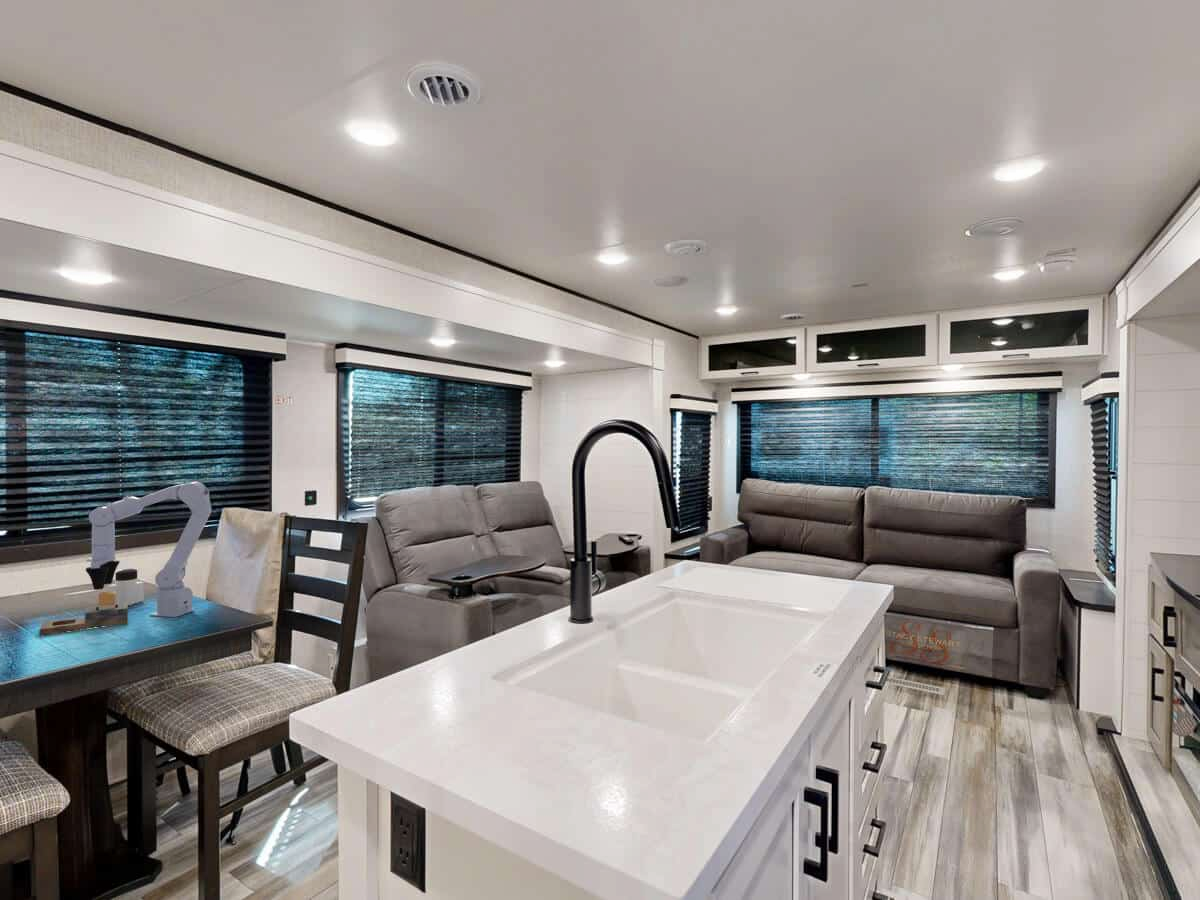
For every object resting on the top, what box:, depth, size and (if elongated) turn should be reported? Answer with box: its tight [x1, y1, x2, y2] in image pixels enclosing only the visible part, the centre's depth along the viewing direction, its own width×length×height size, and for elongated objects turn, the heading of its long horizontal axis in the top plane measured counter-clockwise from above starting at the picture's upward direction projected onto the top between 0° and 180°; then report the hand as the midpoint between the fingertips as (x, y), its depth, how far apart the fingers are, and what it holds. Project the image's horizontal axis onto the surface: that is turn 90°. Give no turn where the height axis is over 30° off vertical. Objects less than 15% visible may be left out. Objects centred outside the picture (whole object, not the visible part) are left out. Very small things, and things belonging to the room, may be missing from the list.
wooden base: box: [39, 602, 129, 637], centre depth 183 cm, size 20×9×5 cm, turn 129°
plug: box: [98, 591, 116, 610], centre depth 186 cm, size 4×4×6 cm
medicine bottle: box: [107, 568, 145, 606], centre depth 209 cm, size 7×7×12 cm
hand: (103, 586), depth 191 cm, fingers open, 7 cm apart
